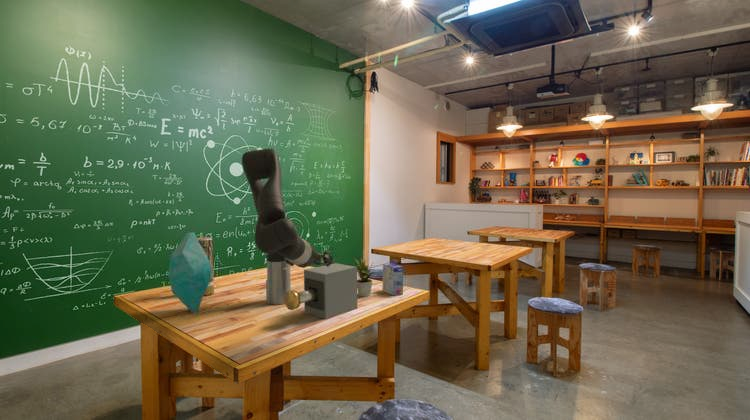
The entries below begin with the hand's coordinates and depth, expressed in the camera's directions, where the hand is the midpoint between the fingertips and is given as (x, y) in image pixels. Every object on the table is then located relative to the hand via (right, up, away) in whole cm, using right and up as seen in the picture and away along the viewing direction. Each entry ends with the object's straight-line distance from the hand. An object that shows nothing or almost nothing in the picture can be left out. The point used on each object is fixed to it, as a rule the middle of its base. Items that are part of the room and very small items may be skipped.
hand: (316, 264), depth 124 cm
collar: (-2, -17, +9) cm, 20 cm away
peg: (-4, -15, +7) cm, 18 cm away
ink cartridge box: (+28, -19, +39) cm, 52 cm away
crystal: (-49, -20, +16) cm, 56 cm away
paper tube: (-55, -19, +39) cm, 70 cm away
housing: (+3, -20, +16) cm, 25 cm away
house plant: (+14, -19, +36) cm, 43 cm away
